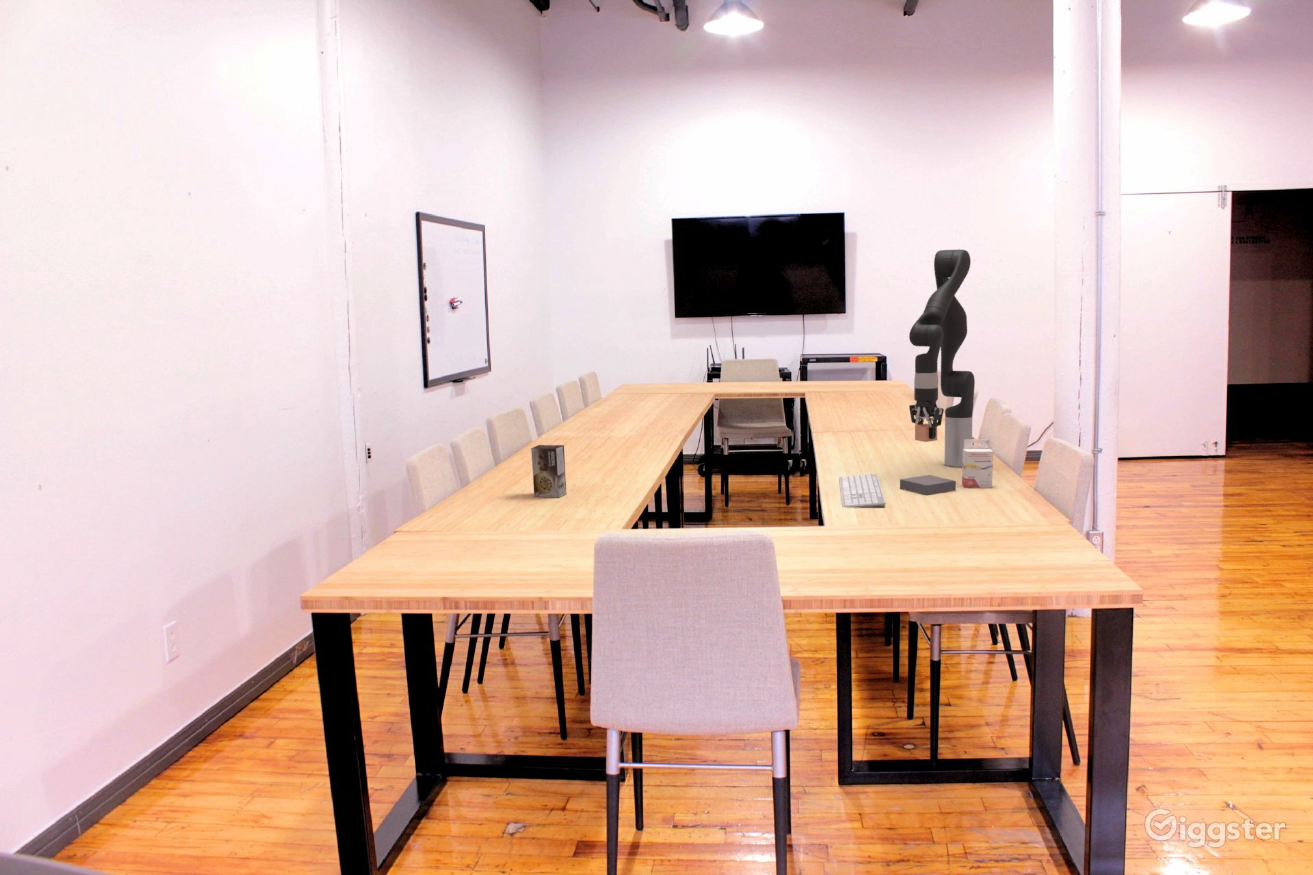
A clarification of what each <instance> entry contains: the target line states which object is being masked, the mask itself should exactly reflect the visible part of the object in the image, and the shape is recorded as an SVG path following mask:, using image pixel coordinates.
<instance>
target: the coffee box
mask: <svg viewBox="0 0 1313 875" xmlns="http://www.w3.org/2000/svg"><path fill="white" fill-rule="evenodd" d="M530 449H531V450H530V451H531V463H532V464H531V465H532V480H533V482H532V484H533V497H534V498H561V497H563V496H565V495H567V476H566V463H565V462H566V458H565V445H564V444H563V445H562V444H538V445H535V446H534V447H532V448H530Z"/></svg>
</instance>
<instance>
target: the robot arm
mask: <svg viewBox="0 0 1313 875" xmlns="http://www.w3.org/2000/svg"><path fill="white" fill-rule="evenodd" d="M933 259H934V260H933V263H934V264H933V268H934V269H933V271H934V277H935V283H936V284H935V285H936V286H935V287H936V290H935V291H934V292H933V293H931V295H930V296H929V298H928V300H927V302H926V304H925V307H924V310H923V312H922V314H921V315H920V316H919V318H918V319H917V320H916V321H915V323H914V324H913V325H912V327H911V328H910V331H909V336H908V337H909V338H908V339H909V342H910V344H911V345H912V346H913V347H925V348H926V347H928V350H927V352H925V353H919V354H917V355H916V356H915V360H914V363H915V364H914V372H915V373H914V378H913V379H914V381H913V382H914V384H913V385H914V386H913V387H914V388H913V390H914V391H913V392H914V393H913V394H914V396H913V398H914V401H915V404H910V405H909V406H908V407H909V408H908V409H909V412H910V420H911V421H910V422H911V424H914V426H915V425H919V424H924V422H925V420H926V422H927V424H929V427H930V428H929V439H935V437H936V427H937V428H938V427H940V426H942V422H943V416H944V466H947V467H956V468H962V464H963V449H964V440H965V439H966V440H972V439H975V437H973V414H974V412H973V411H974V400H975V399H974V398H975V397H974V396H975V384H976V382H975V375H974V373H973V372H972V371H970V370H954V368H953V365H954V360H955V357H956V355H957V353H958V350H960V348H961V346H962V345H963V343H964V342H965V339H966V338H967V335H968V318H967V317H968V316H967V313H966V310H965V308H964V307H963V306H962V304H961V302H960V301H959V300H958V298H957V297H956V296H955V295H956V293H957V292H958V290H959V289H960V288H961V286H962V284H963V283H964V281H965V279H966V278H967V277H968V276H967V275H968V274H969V271H970V268H971V255H970V254H969V251H968V250H965V249H942V250H938V251H937V252H936V253H935V255H934V258H933ZM939 353H940V390H941V393H942V395H943V396H944V397H948V398H960V402H958V403H957V404H956V405H953V406H949V407H947V408H945V410H944V408H942V407H941V408H940V407H938V405H937V402H938V400H939V375H938V359H939ZM972 445H975V443H972Z"/></svg>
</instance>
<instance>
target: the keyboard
mask: <svg viewBox="0 0 1313 875" xmlns="http://www.w3.org/2000/svg"><path fill="white" fill-rule="evenodd" d="M838 478H839V487H840V496H841V505H842V508H843V507H861V508H869V507H870V508H871V507H873V508H885V506H886V504H887V503H886V499H885V496H884V493H883V489H882V486H881V484H880V480H879V476H878V474H877V473H870V474H858V475H857V474H856V475H849V476H848V475H847V476H839V477H838Z"/></svg>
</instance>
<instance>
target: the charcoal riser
mask: <svg viewBox="0 0 1313 875" xmlns="http://www.w3.org/2000/svg"><path fill="white" fill-rule="evenodd" d="M956 485H957V481H956V480H954V479H949V478H944V477H940V476H936V475H931V474H926V475H920V476H914V477H906V478H900V479H899V489H900V490H904V489H905V491H909V492H913V493H916V492H917V493H916V494H921V495H924V494H925V496H928V495H936V494H940V493H941V492H942V493H947V492H955V491H956V490H957V486H956ZM942 493H941V494H942Z"/></svg>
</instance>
